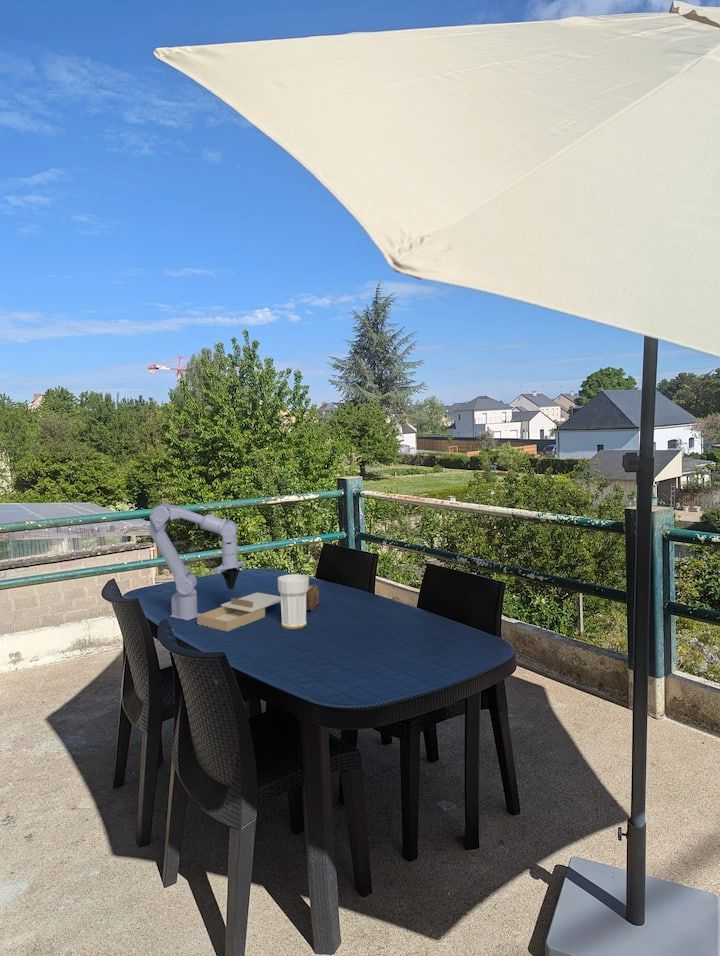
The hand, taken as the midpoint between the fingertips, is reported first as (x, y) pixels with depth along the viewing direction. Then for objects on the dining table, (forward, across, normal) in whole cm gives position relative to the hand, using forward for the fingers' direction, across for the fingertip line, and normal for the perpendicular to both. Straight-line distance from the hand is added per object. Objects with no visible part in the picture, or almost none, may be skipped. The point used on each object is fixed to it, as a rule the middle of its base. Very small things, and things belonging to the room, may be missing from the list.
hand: (230, 588), depth 249 cm
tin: (+11, +24, -20) cm, 33 cm away
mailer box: (+10, -5, -5) cm, 13 cm away
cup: (+11, +3, -28) cm, 30 cm away
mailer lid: (+7, +8, -5) cm, 11 cm away
